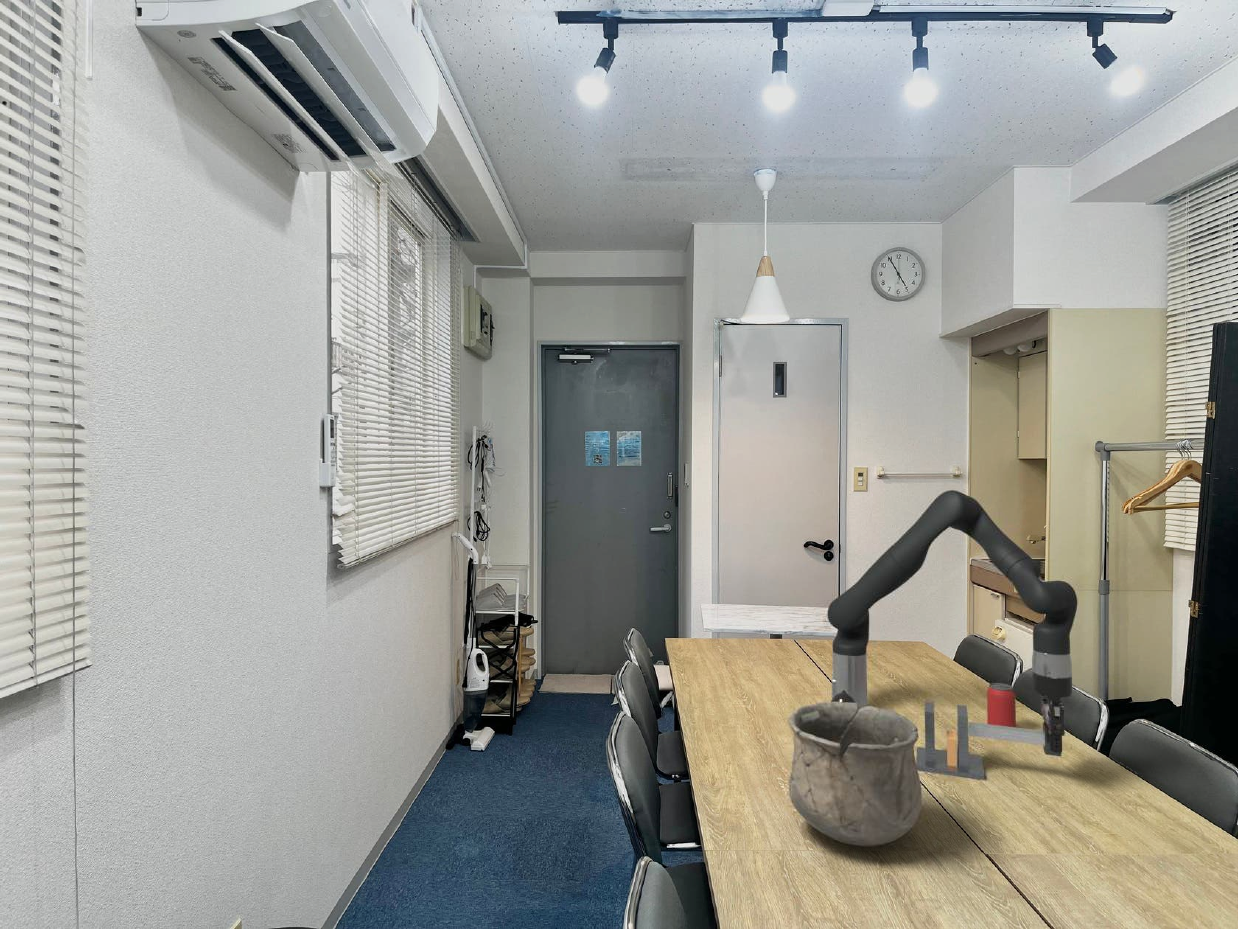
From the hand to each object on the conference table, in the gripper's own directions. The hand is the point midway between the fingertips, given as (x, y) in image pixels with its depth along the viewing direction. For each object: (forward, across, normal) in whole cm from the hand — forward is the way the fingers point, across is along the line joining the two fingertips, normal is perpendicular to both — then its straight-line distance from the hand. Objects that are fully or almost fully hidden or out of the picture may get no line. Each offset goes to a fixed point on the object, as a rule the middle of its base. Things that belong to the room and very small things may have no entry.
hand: (1053, 744), depth 155 cm
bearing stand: (+8, 0, -21) cm, 22 cm away
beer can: (+8, -28, -8) cm, 30 cm away
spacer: (+7, 0, -20) cm, 21 cm away
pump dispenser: (+8, +4, -44) cm, 45 cm away
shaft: (+2, 0, -8) cm, 8 cm away
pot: (+8, +41, -38) cm, 56 cm away
